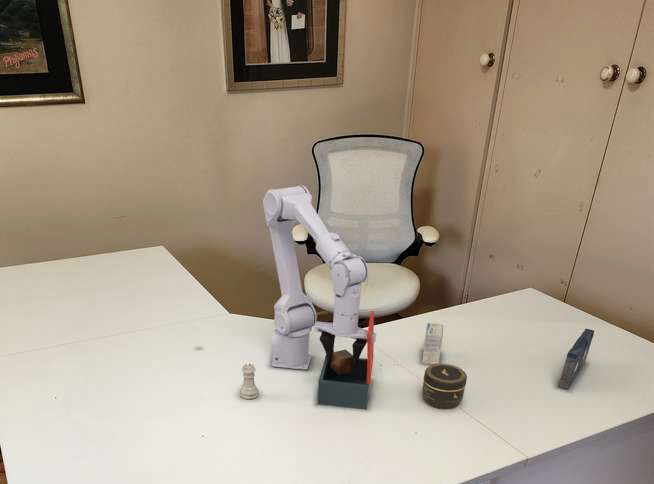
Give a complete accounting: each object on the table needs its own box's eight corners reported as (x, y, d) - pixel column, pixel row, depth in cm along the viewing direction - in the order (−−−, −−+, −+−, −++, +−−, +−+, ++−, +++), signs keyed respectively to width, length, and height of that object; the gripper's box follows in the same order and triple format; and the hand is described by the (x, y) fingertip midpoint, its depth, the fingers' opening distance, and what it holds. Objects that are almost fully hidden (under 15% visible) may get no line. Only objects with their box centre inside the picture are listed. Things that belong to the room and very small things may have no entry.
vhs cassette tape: (575, 360, 171) (585, 327, 166) (586, 364, 170) (597, 330, 164) (555, 386, 158) (565, 351, 153) (567, 390, 157) (578, 355, 152)
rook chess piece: (261, 392, 150) (261, 363, 146) (253, 401, 147) (253, 372, 142) (244, 389, 152) (243, 360, 147) (236, 398, 148) (235, 368, 144)
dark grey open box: (317, 404, 147) (318, 381, 144) (324, 376, 158) (325, 354, 155) (366, 409, 146) (368, 386, 142) (369, 381, 157) (371, 359, 154)
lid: (367, 335, 136) (370, 335, 136) (370, 311, 147) (373, 311, 147) (367, 384, 142) (370, 384, 142) (370, 357, 154) (373, 357, 154)
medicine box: (438, 365, 166) (443, 336, 161) (421, 363, 166) (425, 334, 162) (439, 352, 172) (443, 323, 168) (423, 350, 173) (427, 322, 168)
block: (338, 374, 146) (340, 359, 144) (330, 367, 149) (331, 352, 147) (353, 371, 148) (354, 356, 146) (344, 364, 151) (345, 349, 149)
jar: (437, 415, 145) (442, 386, 141) (412, 394, 152) (416, 367, 148) (470, 405, 149) (476, 378, 145) (444, 386, 156) (449, 359, 152)
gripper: (382, 310, 142) (376, 363, 149) (322, 299, 146) (320, 350, 153) (373, 322, 136) (367, 376, 143) (311, 310, 140) (309, 363, 148)
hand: (342, 364), depth 148 cm, fingers closed on block, 5 cm apart
